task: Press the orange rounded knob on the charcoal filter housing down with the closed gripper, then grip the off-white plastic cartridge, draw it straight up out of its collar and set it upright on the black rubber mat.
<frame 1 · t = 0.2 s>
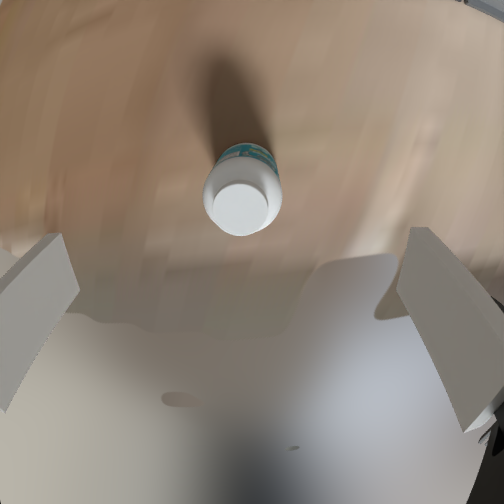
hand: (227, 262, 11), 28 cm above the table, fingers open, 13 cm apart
pill bottle: (246, 170, 37), on the table
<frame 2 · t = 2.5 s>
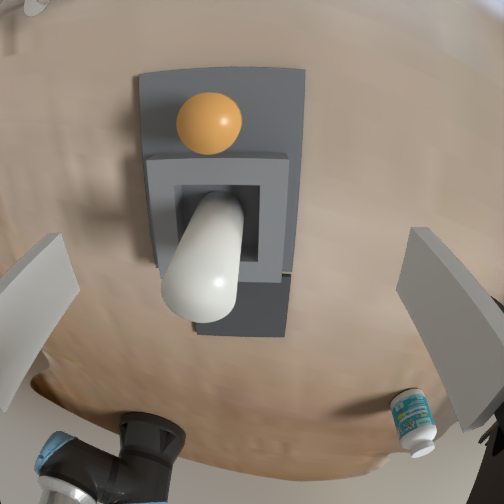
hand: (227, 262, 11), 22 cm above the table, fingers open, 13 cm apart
mat: (240, 305, 39), on the table
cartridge: (220, 213, 32), point 1 cm above the table, touching housing
housing: (220, 173, 31), on the table
pill bottle: (405, 397, 51), on the table
orange rounded knob: (210, 121, 22), point 6 cm above the table, slide at 0.0 cm
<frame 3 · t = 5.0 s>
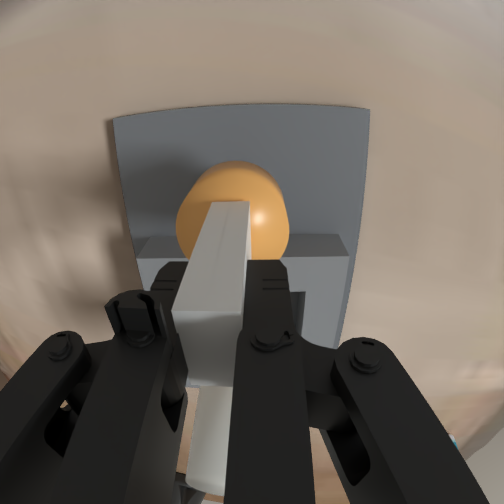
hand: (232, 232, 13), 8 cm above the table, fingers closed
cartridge: (246, 310, 24), point 1 cm above the table, touching housing
housing: (244, 259, 23), on the table
orange rounded knob: (234, 218, 14), point 6 cm above the table, slide at 0.1 cm, touching gripper
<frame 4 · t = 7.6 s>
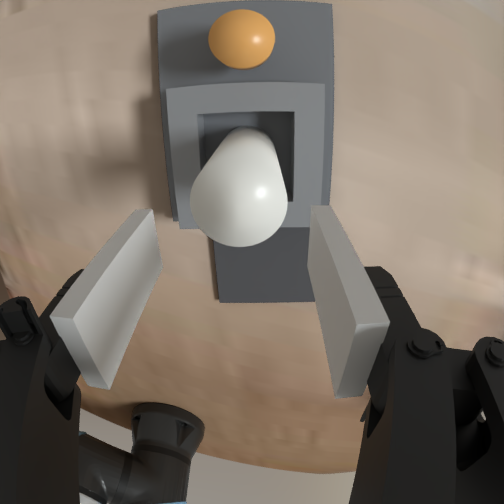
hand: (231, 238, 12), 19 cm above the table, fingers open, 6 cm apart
mat: (269, 264, 35), on the table
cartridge: (247, 151, 28), point 1 cm above the table, touching housing
housing: (247, 109, 27), on the table
orange rounded knob: (242, 40, 19), point 5 cm above the table, slide at 1.4 cm
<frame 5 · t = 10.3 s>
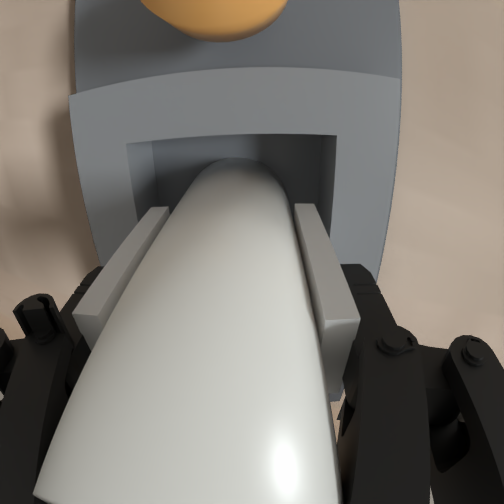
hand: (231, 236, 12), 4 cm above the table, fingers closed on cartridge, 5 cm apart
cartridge: (237, 206, 15), point 1 cm above the table, touching gripper, housing
housing: (235, 123, 14), on the table
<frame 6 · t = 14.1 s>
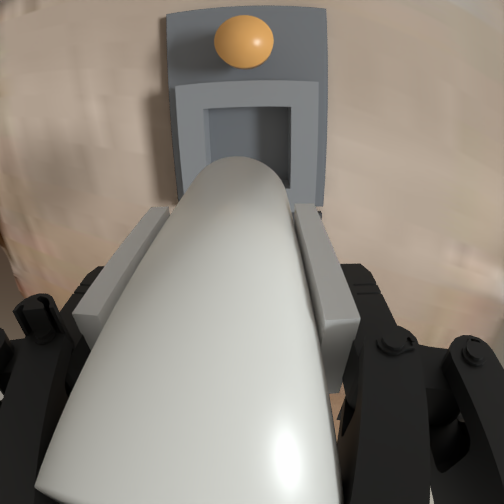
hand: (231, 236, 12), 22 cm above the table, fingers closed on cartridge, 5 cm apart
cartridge: (237, 205, 15), point 18 cm above the table, touching gripper
housing: (248, 105, 29), on the table
orange rounded knob: (244, 43, 22), point 5 cm above the table, slide at 1.4 cm
when the fingers open (5 cm above the table, at t = 18.4 s): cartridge stays where it is, resting on mat.
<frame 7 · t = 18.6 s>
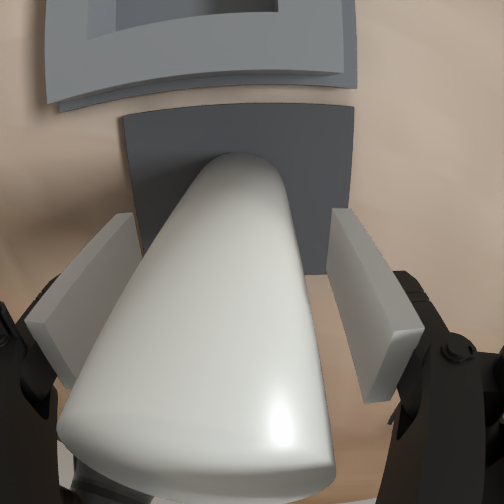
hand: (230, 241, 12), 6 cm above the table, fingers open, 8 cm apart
mat: (239, 193, 17), on the table
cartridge: (239, 197, 16), point 1 cm above the table, touching mat
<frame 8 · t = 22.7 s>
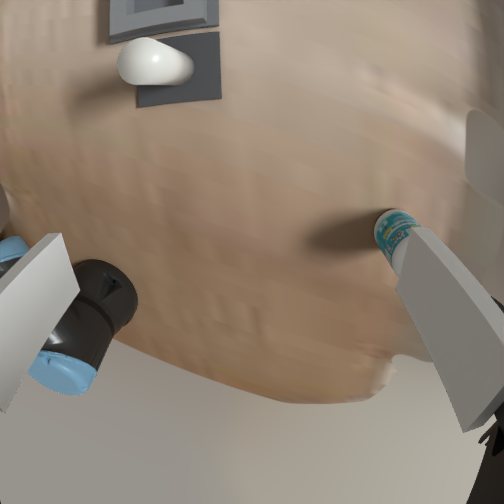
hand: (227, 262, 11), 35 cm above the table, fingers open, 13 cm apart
mat: (177, 68, 36), on the table
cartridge: (176, 68, 36), point 1 cm above the table, touching mat
pill bottle: (391, 227, 48), on the table
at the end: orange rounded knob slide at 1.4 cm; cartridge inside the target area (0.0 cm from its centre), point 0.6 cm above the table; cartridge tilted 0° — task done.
